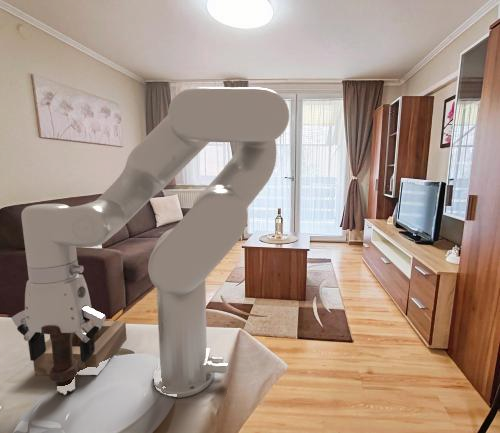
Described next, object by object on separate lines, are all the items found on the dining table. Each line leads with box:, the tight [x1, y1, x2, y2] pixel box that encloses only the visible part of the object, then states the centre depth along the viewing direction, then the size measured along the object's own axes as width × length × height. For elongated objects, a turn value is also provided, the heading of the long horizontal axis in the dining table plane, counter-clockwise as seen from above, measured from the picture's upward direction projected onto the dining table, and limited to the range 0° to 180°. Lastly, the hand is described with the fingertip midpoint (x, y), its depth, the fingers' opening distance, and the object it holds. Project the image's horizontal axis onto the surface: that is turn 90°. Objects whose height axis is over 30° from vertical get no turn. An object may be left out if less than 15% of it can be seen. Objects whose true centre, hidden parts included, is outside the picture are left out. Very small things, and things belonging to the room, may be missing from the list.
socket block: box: [32, 320, 127, 376], centre depth 67 cm, size 14×14×5 cm
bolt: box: [41, 326, 79, 388], centre depth 56 cm, size 6×5×15 cm
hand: (63, 356), depth 56 cm, fingers open, 9 cm apart
